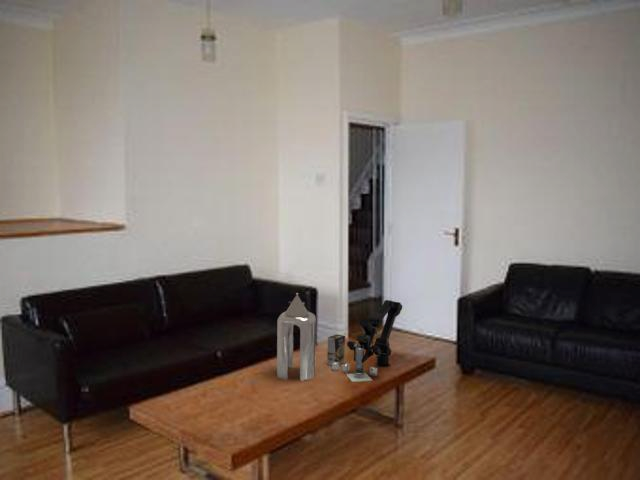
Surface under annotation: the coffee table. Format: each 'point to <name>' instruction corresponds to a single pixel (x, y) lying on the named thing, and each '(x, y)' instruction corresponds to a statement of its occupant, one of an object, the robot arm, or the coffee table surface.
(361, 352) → the standoff
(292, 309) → the grey metal tall arch
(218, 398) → the coffee table surface
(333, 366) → the cylinder
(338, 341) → the coffee box
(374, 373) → the cylinder
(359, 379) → the pad
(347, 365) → the cylinder
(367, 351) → the robot arm
